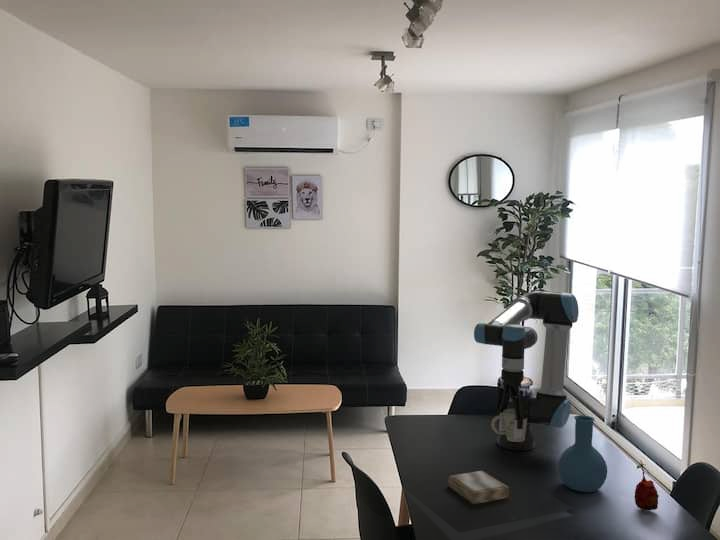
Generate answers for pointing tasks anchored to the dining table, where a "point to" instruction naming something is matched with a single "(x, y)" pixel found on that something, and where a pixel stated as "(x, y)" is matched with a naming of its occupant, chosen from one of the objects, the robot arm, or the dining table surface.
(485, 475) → the plinth
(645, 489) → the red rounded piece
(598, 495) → the dining table surface
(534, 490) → the dining table surface
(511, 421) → the mug
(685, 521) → the dining table surface
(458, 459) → the dining table surface
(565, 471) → the vase
